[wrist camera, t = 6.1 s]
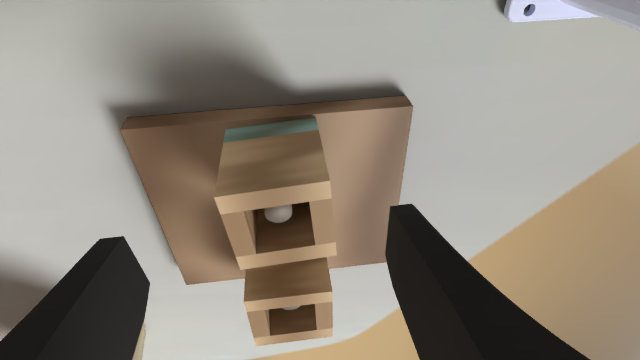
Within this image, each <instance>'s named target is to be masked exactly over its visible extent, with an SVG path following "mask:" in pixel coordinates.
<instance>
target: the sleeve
mask: <svg viewBox="0 0 640 360" xmlns="http://www.w3.org/2000/svg"><path fill="white" fill-rule="evenodd" d="M214 199H215V201H216V204H217V207H218V210H219V212H220V215H221V218H222V221H223V223H224V226H225V229H226V232H227V234H228V237H229V240H230V243H231V245H232V248H233V251H234V254H235V256H236V259H237V262H238V265H239V267H240V270H243V269H250V268H257V267H263V266H270V265H277V264H283V263H290V262H297V261H303V260H310V259H316V258H323V257H330V256H336V255H337V251H336V240H335V229H334V218H333V207H332V196H331V185H330V178H329V174H328V169H327V165H326V160H325V156H324V151H323V147H322V142H321V138H320V133H319V129H318V124H317V120H316V117H313V118H306V119H298V120H291V121H284V122H276V123H269V124H262V125H254V126H247V127H240V128H232V129H225V135H224V141H223V147H222V153H221V159H220V165H219V171H218V177H217V183H216V189H215V194H214ZM289 204H292V215H291V217H290V218H289V219H288V220H287V221H285V222H281V223H274V222H271V221H269V220H268V219H267V218H266V217H265V213H264V208H269V207H276V206H283V205H289Z"/></svg>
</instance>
